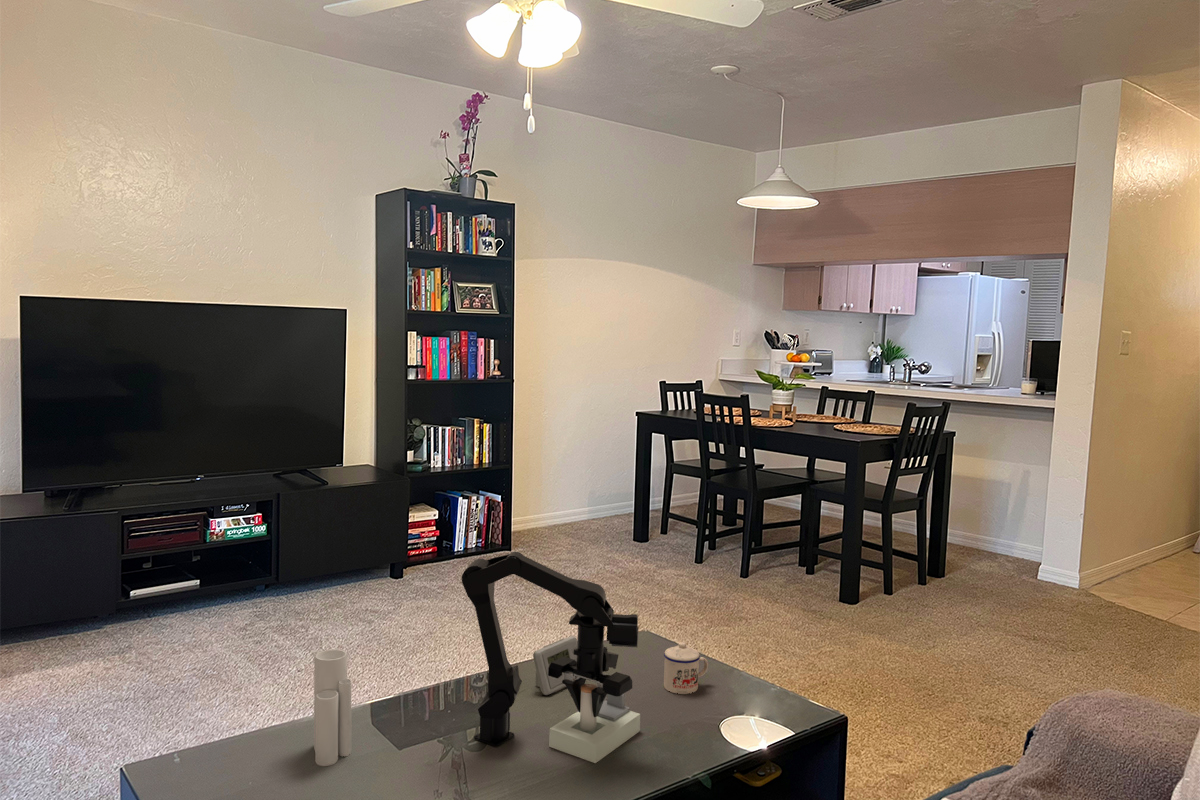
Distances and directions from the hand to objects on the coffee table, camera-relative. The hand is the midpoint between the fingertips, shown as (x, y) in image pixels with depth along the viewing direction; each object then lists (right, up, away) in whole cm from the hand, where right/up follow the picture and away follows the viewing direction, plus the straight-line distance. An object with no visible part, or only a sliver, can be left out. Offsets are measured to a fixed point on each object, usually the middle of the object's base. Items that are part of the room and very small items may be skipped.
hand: (588, 714), depth 185 cm
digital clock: (-8, -4, +31) cm, 33 cm away
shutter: (+5, -2, +7) cm, 9 cm away
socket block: (+2, -7, +3) cm, 7 cm away
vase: (-54, -6, -6) cm, 54 cm away
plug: (0, -3, 0) cm, 3 cm away
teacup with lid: (+24, -5, +32) cm, 41 cm away
